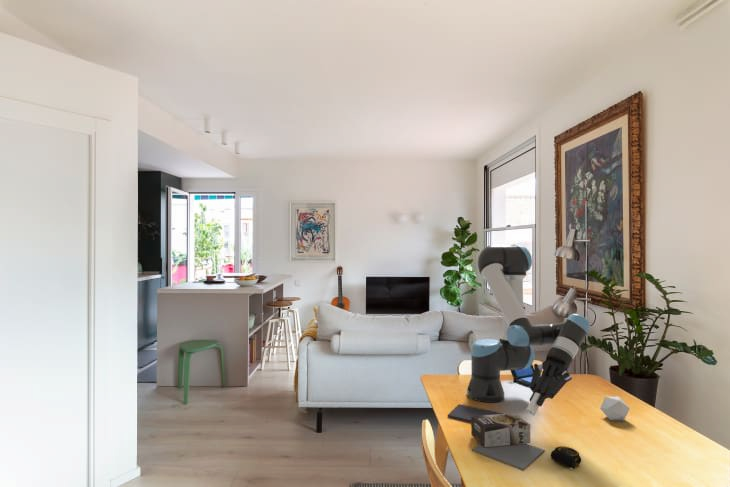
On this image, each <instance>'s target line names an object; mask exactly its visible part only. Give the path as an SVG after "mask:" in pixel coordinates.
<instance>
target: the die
mask: <svg viewBox="0 0 730 487" xmlns="http://www.w3.org/2000/svg"><path fill="white" fill-rule="evenodd" d="M599 408H600V410H601V411H602V412H603V414H604V415H605V416H606V417H607V418H608V419H609V421H625V419H626V418H627V415H628V413H629V411H630V409H631V408H630V407H629V406H628V405H627V403H625V401H623V399H622V398H621V397H620V396H604V398H603V401H602V403H601V405H600V407H599Z"/></svg>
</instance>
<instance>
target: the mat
mask: <svg viewBox="0 0 730 487" xmlns="http://www.w3.org/2000/svg"><path fill="white" fill-rule="evenodd" d="M471 451H472V452H475V453H477V454H479V455H482V456H485V457H487V458H490V459H492V460H495V461H497V462H500V463H503V464H504V465H508V466H511V467H513V468H516V469H518V470H520V471H523V472H524V471H525V470H526V469H527V468H529V466H530V465H532V463H533V462H535V461H536V460H537V459H538V458H539V457H540V456H541V455H543V453H545V449H543V448H540V447H536V446H534V445H531V444H530V443H527V444H516V445H505V446H494V447H484V446H483V445H481V444H480V443H479V444H477V445H475V446H474V447H473V448H471Z"/></svg>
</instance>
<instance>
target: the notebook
mask: <svg viewBox="0 0 730 487" xmlns="http://www.w3.org/2000/svg"><path fill="white" fill-rule="evenodd" d="M496 414H505V413H503V412H498V411H495V410H489V409H485V408H479V407H474V406H471V405H465V404H460V403H459V404H457V405H456V406H455V407H454V408H453V409H452V410H451V411H450V412H449V413H448V414H447V418H448V419H453V420H457V421H462V422H466V423H470V424H471V416H483V415H496Z"/></svg>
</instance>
